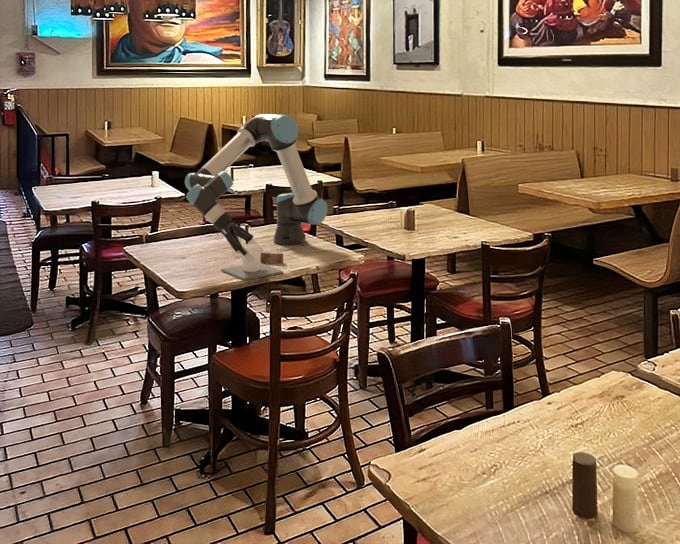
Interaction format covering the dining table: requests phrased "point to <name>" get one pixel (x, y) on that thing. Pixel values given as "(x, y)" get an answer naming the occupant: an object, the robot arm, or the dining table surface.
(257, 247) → the white cup
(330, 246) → the dining table surface
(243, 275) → the grey mat
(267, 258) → the walnut rail
